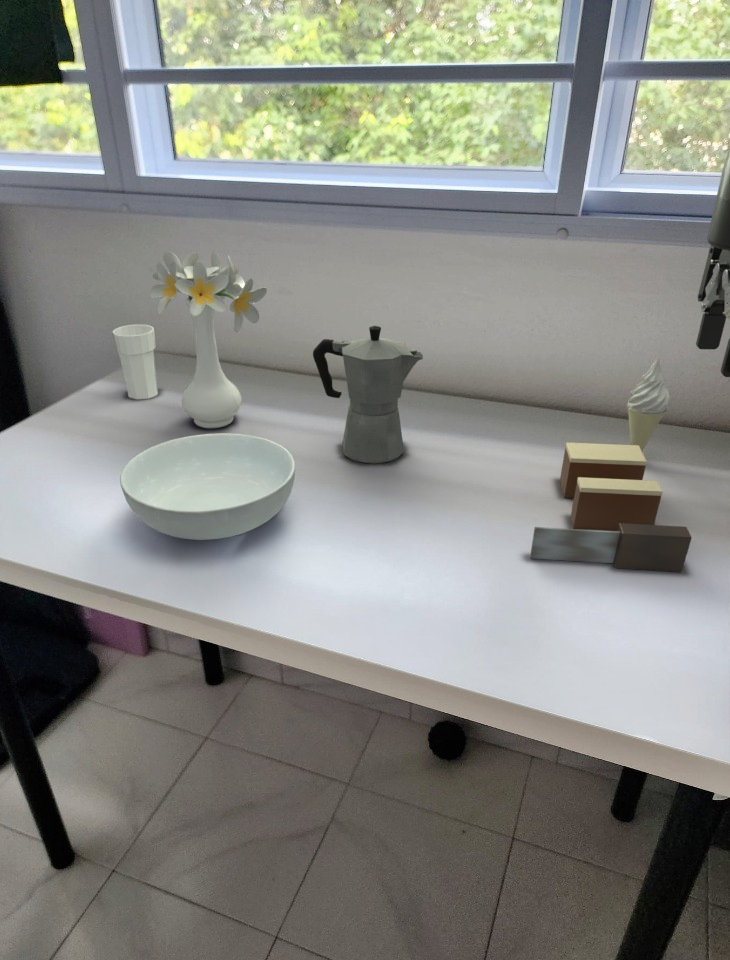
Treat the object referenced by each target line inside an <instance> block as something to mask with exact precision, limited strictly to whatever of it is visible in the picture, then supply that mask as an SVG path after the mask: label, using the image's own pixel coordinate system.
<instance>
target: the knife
mask: <svg viewBox="0 0 730 960" xmlns="http://www.w3.org/2000/svg"><path fill="white" fill-rule="evenodd" d="M692 538H693V537H692V535H691V533H690V530H689V529H688V527H687V526H680V525H662V524H661V525H659V524H658V525H657V524H654V525H644V524H625V523H619V527H618V531H608V530H590V529H574V528H565V527H564V528H562V527H543V526H534V529H533V537H532V542H531V549H530V554H529V558H530V559H532V560H533V559H534V560H550V561H551V560H553V561H568V562H569V561H570V562H585V563H586V562H587V563H603V564H613V565H614V568H615V569H625V570H643V571H659V572H674V573H675V572H677V573H682V572H683V569H684V566H685V562H686V559H687V555H688V553H689V548H690V545H691V542H692Z"/></svg>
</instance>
